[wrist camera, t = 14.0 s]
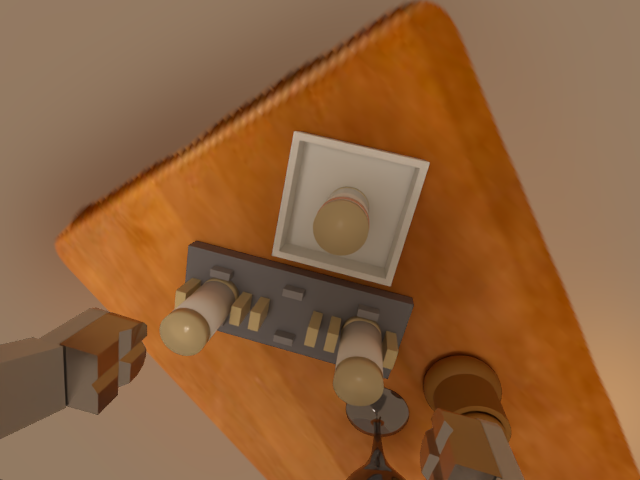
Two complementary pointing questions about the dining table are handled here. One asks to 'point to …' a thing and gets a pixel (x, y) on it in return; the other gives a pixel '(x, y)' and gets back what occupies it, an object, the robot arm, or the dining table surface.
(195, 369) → the dining table surface
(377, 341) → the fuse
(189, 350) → the fuse
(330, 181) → the tray
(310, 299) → the fuse block
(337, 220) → the marked fuse
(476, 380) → the ornamental finial
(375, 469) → the wine glass
